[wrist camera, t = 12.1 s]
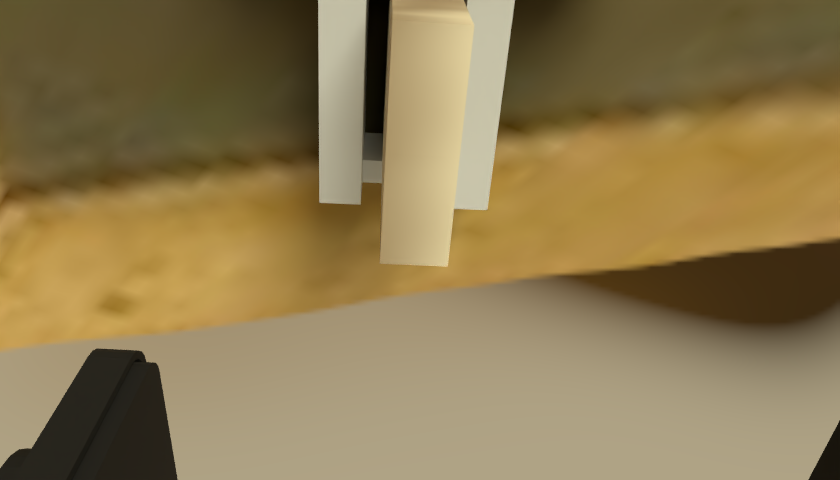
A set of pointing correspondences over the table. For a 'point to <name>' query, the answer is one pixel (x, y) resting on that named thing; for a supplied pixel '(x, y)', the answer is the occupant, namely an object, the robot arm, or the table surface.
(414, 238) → the wooden board
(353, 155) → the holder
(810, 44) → the table surface
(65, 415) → the robot arm
